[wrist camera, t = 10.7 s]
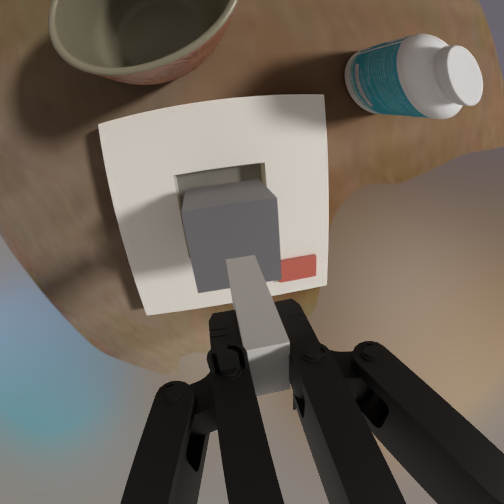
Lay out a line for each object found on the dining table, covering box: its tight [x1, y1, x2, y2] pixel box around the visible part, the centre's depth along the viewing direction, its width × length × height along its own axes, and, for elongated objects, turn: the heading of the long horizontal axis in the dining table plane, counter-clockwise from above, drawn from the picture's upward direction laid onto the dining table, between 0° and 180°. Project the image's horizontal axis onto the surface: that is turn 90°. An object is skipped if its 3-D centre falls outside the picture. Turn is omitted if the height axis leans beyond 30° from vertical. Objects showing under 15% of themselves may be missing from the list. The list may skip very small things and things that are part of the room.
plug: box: [181, 179, 282, 293], centre depth 23 cm, size 6×6×10 cm
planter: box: [48, 0, 239, 85], centre depth 15 cm, size 12×12×11 cm
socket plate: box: [98, 94, 329, 315], centre depth 27 cm, size 20×20×3 cm
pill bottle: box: [345, 34, 483, 119], centre depth 19 cm, size 8×7×14 cm
